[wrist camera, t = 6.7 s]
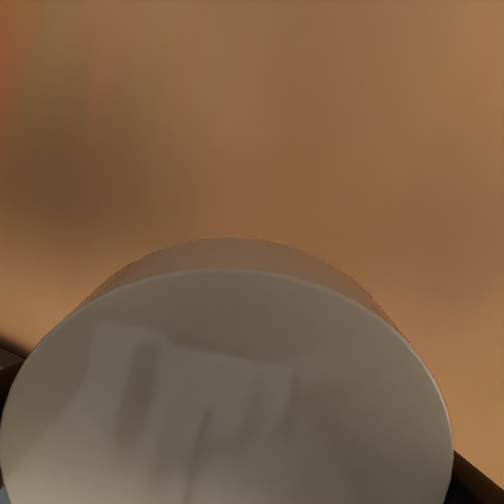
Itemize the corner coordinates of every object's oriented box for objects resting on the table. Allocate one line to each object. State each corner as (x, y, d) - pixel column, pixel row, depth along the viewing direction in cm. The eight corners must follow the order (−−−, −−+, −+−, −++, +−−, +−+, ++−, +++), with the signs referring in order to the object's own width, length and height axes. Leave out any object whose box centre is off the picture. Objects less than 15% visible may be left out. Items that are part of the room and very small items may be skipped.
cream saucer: (312, 545, 9) (330, 665, 7) (34, 462, 8) (-40, 569, 6) (463, 308, 7) (551, 375, 5) (121, 170, 6) (57, 183, 4)
